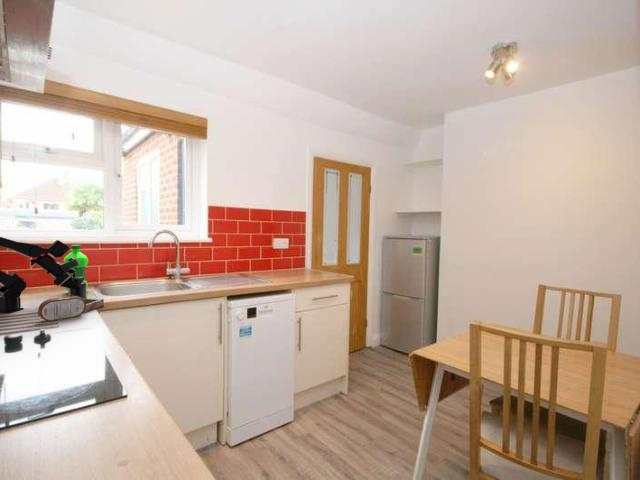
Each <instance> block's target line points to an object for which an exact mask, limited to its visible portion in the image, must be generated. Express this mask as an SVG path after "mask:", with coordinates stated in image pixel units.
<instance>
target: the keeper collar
mask: <svg viewBox="0 0 640 480" xmlns="http://www.w3.org/2000/svg"><path fill="white" fill-rule="evenodd" d="M82 299H83V300H84V301H85V302H86V309H85V311H84V312H83V313H82V314H85V313H88V312H90V311H93V310H96V309H98V308H102V307H104V306H105V304H104V303H105V302H104V299H102V298H87V299H84V298H82Z"/></svg>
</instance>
